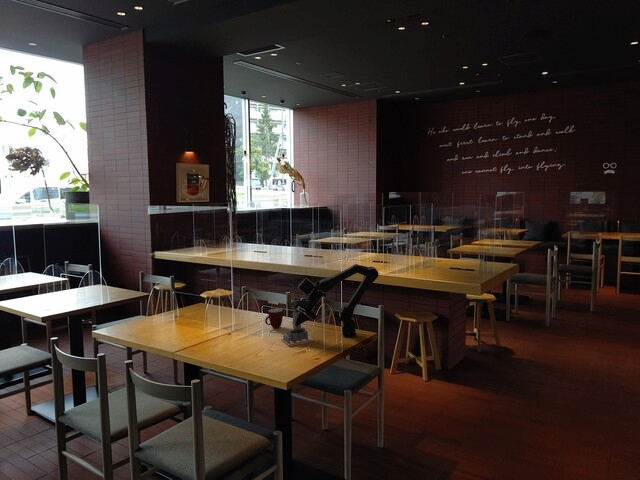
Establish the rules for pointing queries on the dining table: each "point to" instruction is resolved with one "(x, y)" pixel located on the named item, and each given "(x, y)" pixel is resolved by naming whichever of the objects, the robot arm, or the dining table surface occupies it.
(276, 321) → the mug
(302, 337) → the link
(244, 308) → the dining table surface
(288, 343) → the plate
